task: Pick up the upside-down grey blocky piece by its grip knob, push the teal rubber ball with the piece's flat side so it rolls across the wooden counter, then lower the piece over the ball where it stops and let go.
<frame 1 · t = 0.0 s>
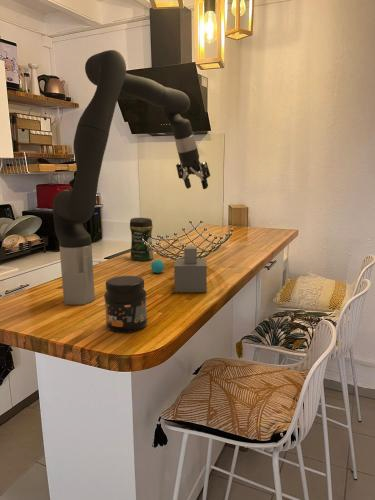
hand: (197, 188, 156), 31 cm above the worktop, tool tilted 20°, fingers open, 8 cm apart
coffee jar: (142, 259, 174), on the worktop
supplement container: (127, 326, 101), on the worktop
ball: (157, 266, 151), on the worktop
grey blocky piece: (190, 287, 132), on the worktop
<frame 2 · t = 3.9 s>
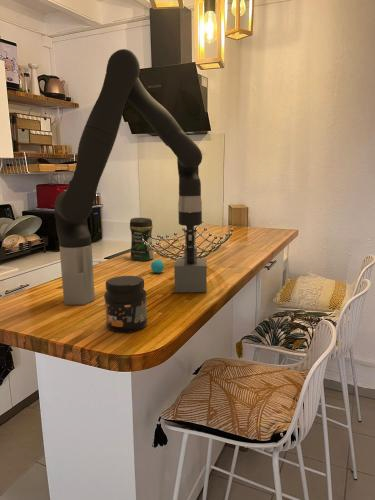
hand: (190, 261, 130), 9 cm above the worktop, tool pointing down, fingers closed on grey blocky piece, 4 cm apart
grey blocky piece: (190, 287, 132), on the worktop, touching gripper
everything else where it was.
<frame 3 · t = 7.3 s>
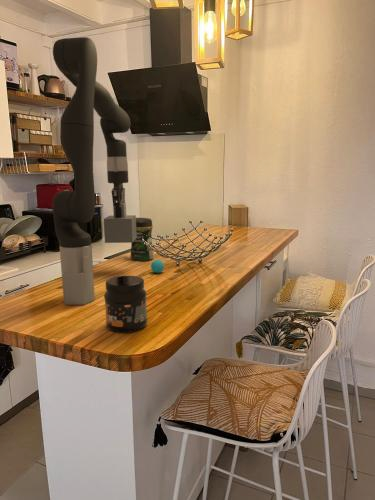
hand: (119, 216, 147), 22 cm above the worktop, tool pointing down, fingers closed on grey blocky piece, 4 cm apart
grey blocky piece: (121, 240, 149), point 13 cm above the worktop, touching gripper
everything else where it was.
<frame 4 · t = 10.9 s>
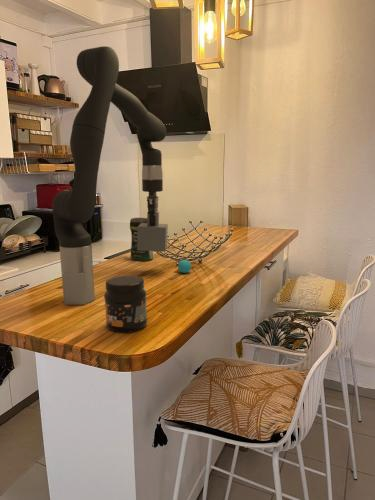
hand: (153, 224, 148), 19 cm above the worktop, tool pointing down, fingers closed on grey blocky piece, 4 cm apart
ball: (184, 266, 151), on the worktop
grey blocky piece: (152, 248, 150), point 10 cm above the worktop, touching gripper
everything else where it was.
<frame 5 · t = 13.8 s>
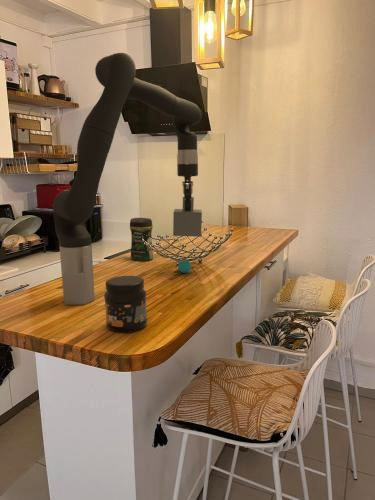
hand: (188, 210, 146), 24 cm above the worktop, tool pointing down, fingers closed on grey blocky piece, 4 cm apart
grey blocky piece: (187, 234, 148), point 15 cm above the worktop, touching gripper
everything else where it was.
when the fingers open (9 cm above the worktop, at t = 16.4 s): grey blocky piece stays where it is, on the worktop.
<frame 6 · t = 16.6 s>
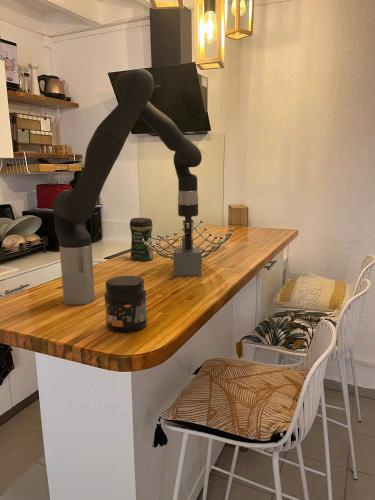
hand: (188, 247, 149), 10 cm above the worktop, tool pointing down, fingers open, 6 cm apart
grey blocky piece: (187, 272, 151), on the worktop
everything else where it was.
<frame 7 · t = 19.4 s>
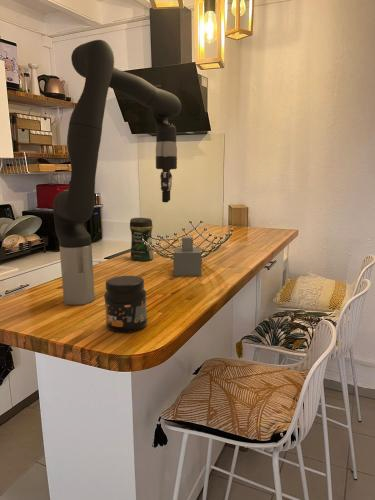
hand: (166, 201, 143), 28 cm above the worktop, tool pointing down, fingers open, 8 cm apart
nothing on the worktop moved.
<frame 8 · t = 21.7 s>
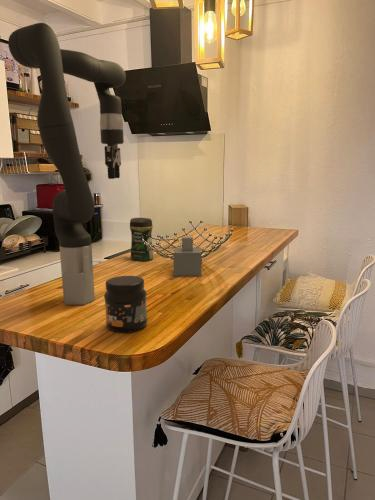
hand: (114, 178, 135), 36 cm above the worktop, tool pointing down, fingers open, 8 cm apart
nothing on the worktop moved.
at the end: ball 1.2 cm from the grey blocky piece (horizontally); grey blocky piece on the worktop; ball moved 10.4 cm from its start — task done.
